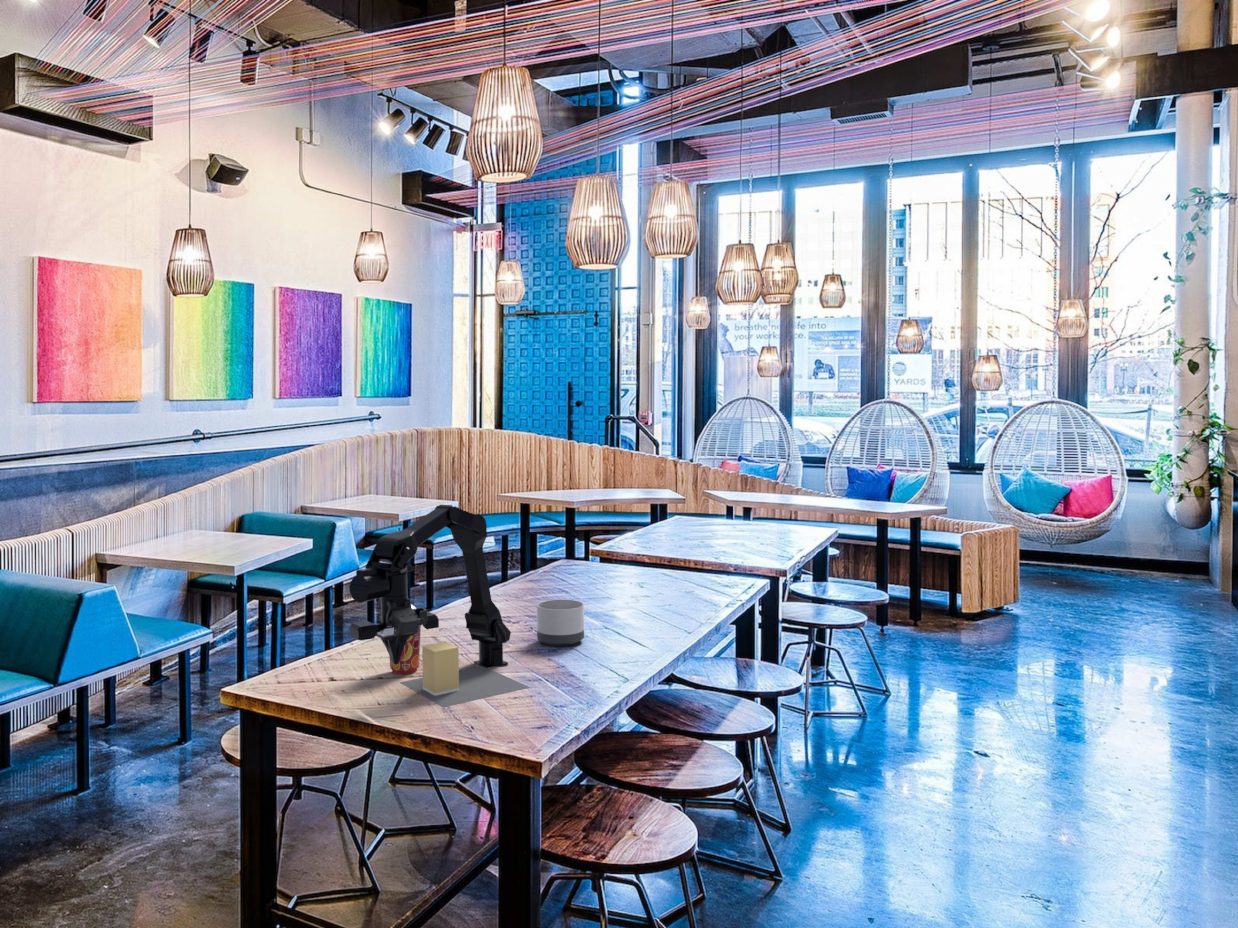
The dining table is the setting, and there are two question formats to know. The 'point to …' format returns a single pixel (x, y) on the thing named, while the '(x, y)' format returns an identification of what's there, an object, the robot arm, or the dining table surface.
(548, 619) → the planter
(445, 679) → the pale yellow block
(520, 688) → the charcoal mat
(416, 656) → the smoothie
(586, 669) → the dining table surface
